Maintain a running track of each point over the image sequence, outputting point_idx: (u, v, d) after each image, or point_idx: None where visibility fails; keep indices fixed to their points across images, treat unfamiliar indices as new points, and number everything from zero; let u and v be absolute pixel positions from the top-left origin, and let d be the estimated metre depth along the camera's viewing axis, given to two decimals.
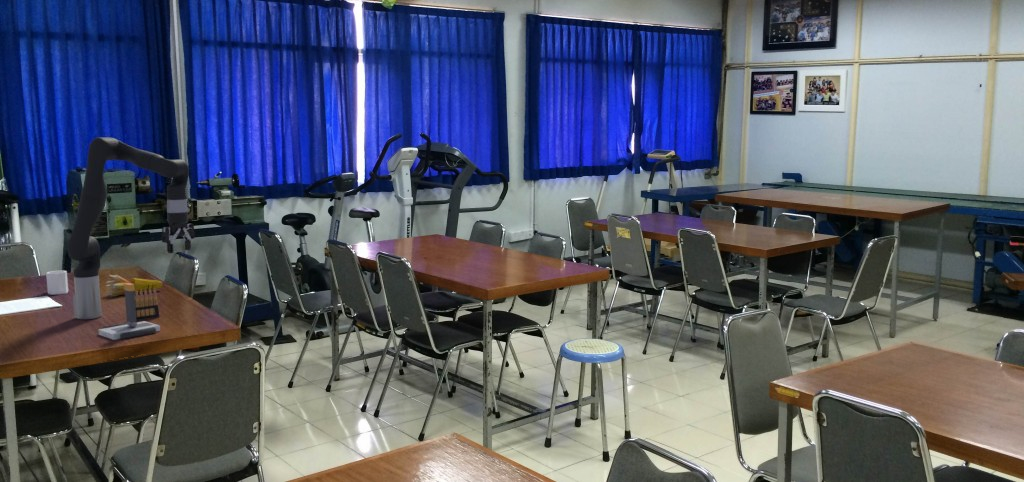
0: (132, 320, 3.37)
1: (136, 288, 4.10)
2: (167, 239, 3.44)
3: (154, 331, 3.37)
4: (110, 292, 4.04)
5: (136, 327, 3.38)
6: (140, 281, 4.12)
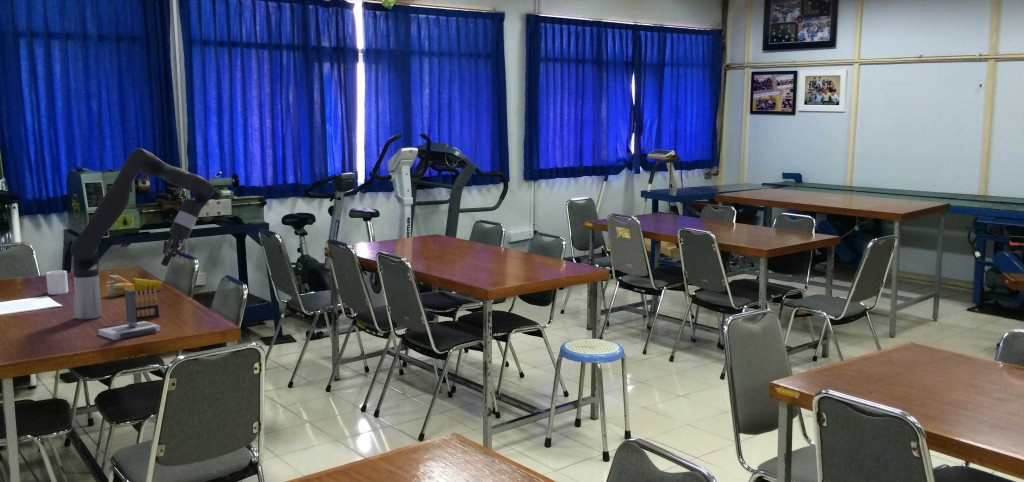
0: (132, 320, 3.37)
1: (136, 288, 4.10)
2: (164, 249, 3.48)
3: (154, 331, 3.37)
4: (110, 292, 4.04)
5: (136, 327, 3.38)
6: (140, 281, 4.12)
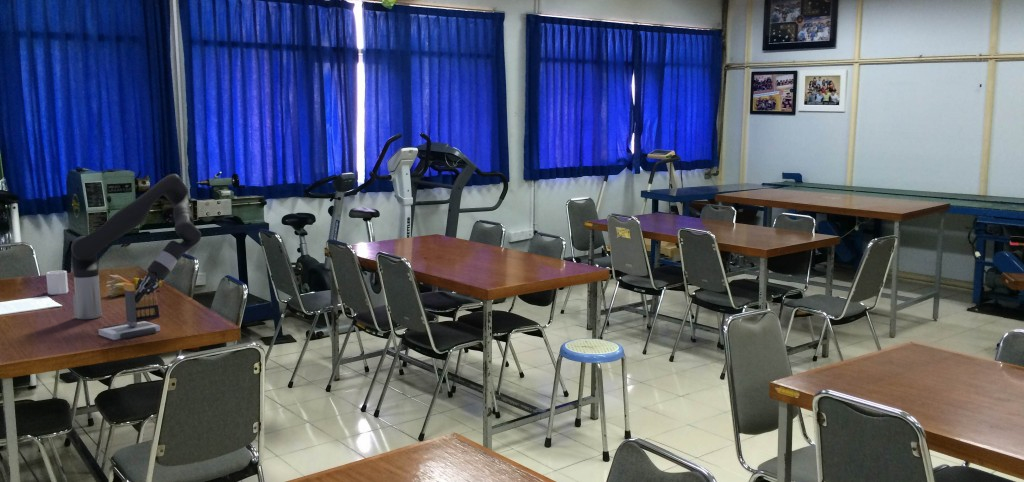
0: (132, 320, 3.37)
1: None
2: (138, 286, 3.42)
3: (154, 331, 3.37)
4: (111, 292, 4.04)
5: (136, 327, 3.38)
6: None
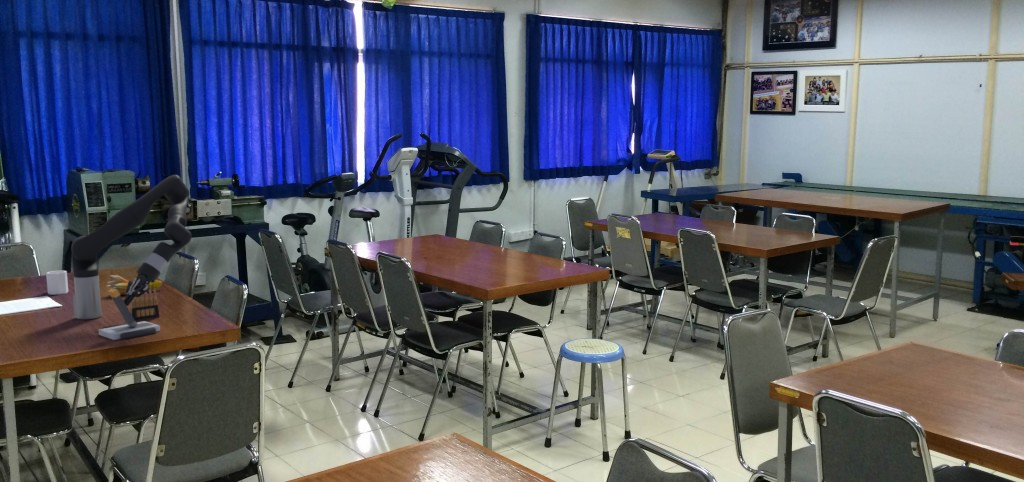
0: (130, 321, 3.36)
1: None
2: (128, 289, 3.39)
3: (154, 331, 3.37)
4: None
5: (136, 327, 3.38)
6: None
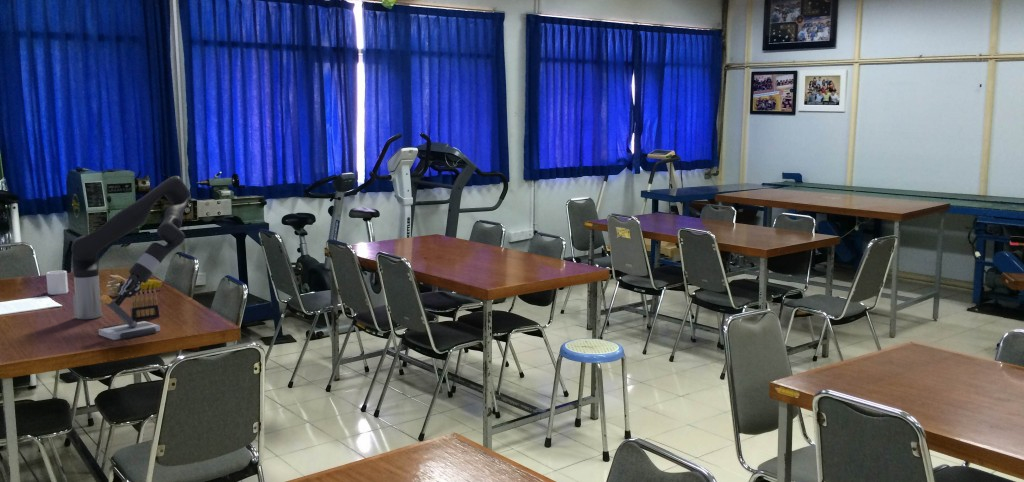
0: (130, 322, 3.36)
1: None
2: (119, 289, 3.37)
3: (154, 331, 3.37)
4: (112, 292, 4.04)
5: (136, 327, 3.38)
6: None
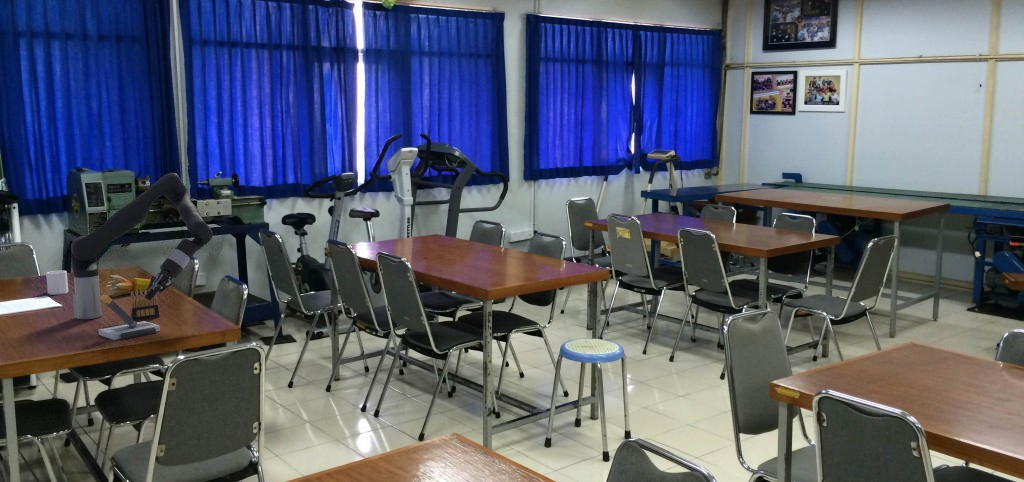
0: (130, 322, 3.36)
1: (137, 288, 4.11)
2: (151, 284, 3.46)
3: (154, 331, 3.37)
4: (112, 292, 4.04)
5: (136, 327, 3.38)
6: (141, 280, 4.13)
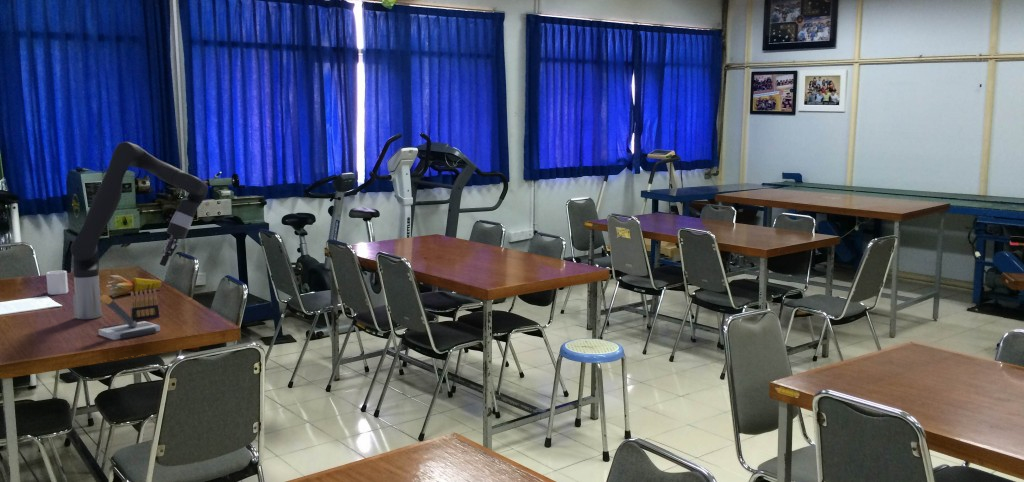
0: (130, 322, 3.36)
1: (138, 288, 4.11)
2: (164, 250, 3.55)
3: (154, 331, 3.37)
4: (113, 292, 4.04)
5: (136, 327, 3.38)
6: (141, 280, 4.13)
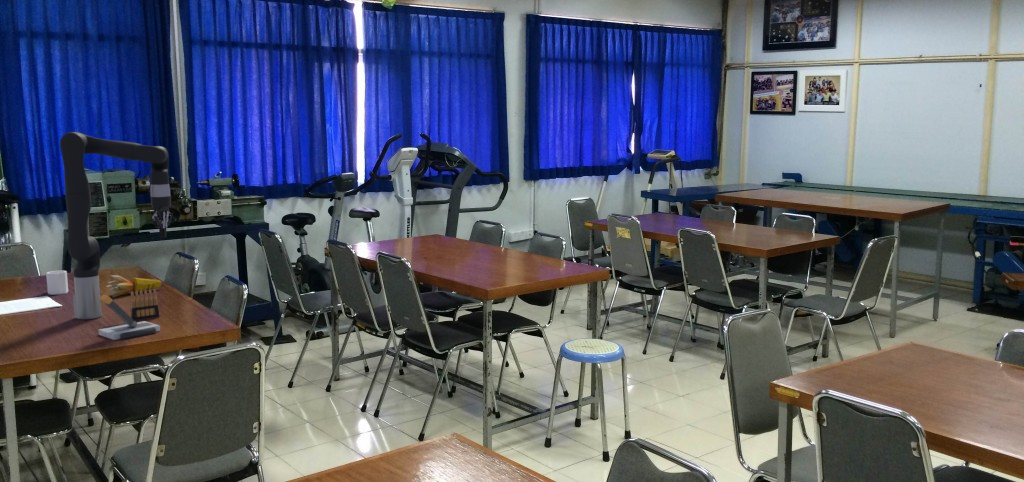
0: (130, 322, 3.36)
1: (138, 287, 4.11)
2: None
3: (154, 331, 3.37)
4: (113, 292, 4.04)
5: (136, 327, 3.38)
6: (141, 280, 4.13)
